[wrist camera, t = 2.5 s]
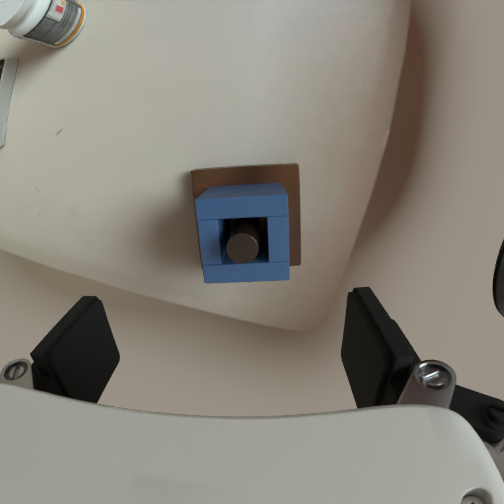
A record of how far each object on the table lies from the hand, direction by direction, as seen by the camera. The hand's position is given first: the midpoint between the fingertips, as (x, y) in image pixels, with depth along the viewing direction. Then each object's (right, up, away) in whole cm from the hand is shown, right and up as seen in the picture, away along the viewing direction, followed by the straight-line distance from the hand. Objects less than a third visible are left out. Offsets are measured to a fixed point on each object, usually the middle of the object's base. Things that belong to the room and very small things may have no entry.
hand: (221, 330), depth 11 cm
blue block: (+1, +6, +15) cm, 16 cm away
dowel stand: (+1, +6, +16) cm, 17 cm away
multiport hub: (-29, +21, +12) cm, 38 cm away
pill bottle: (-19, +27, +9) cm, 34 cm away
